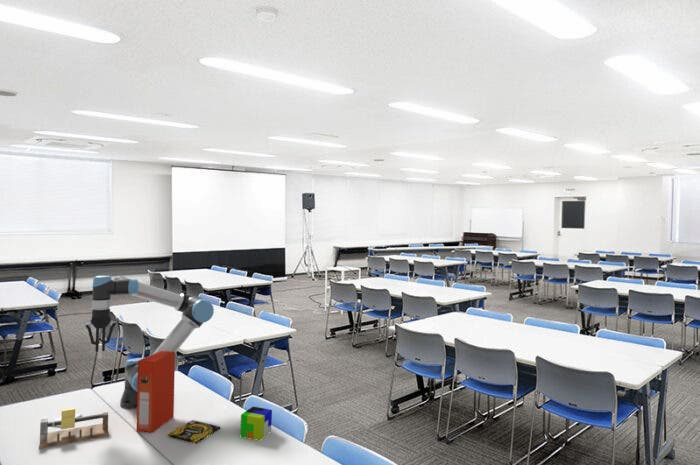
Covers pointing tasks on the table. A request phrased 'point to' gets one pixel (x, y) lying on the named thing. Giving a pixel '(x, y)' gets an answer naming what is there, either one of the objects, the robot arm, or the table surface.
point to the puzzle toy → (256, 423)
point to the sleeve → (68, 418)
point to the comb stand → (72, 431)
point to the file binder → (155, 391)
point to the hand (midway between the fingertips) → (99, 358)
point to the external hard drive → (60, 418)
